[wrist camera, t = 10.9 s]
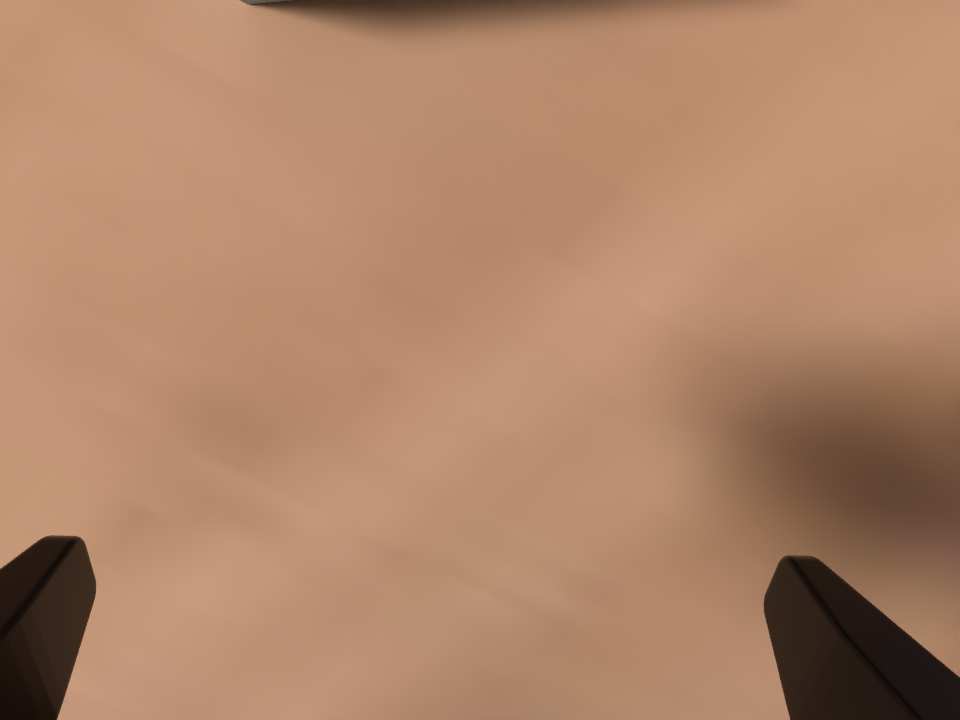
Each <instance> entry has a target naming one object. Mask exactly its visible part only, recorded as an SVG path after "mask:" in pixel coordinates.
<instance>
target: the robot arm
mask: <svg viewBox="0 0 960 720" xmlns="http://www.w3.org/2000/svg"><path fill="white" fill-rule="evenodd" d="M95 594H96V580H95V576H94V572H93V569H92V565H91V562H90V558H89V555H88V551H87V548H86V545H85V543H84V541H83V540H82V539H81V538H80V537H77V536H54V535H53V536H46V537H44V538H42V539H40V540H39V541H37V542H36V543H34V544H33V545H32V546H30V547H29V548H28V549H26V550H25V551H24V552H22V553H21V554H20V555H18V556H17V557H16V558H14V559H13V560H12V561H10V562H9V563H8V564H6V565H5V566H4V567H2V568H1V569H0V720H57V718H58V715H59V712H60V709H61V706H62V703H63V700H64V697H65V694H66V691H67V687H68V684H69V681H70V678H71V674H72V671H73V668H74V665H75V661H76V658H77V655H78V652H79V648H80V645H81V642H82V639H83V635H84V632H85V629H86V626H87V622H88V619H89V616H90V613H91V609H92V606H93V603H94V599H95ZM764 613H765V618H766V622H767V626H768V630H769V634H770V639H771V643H772V647H773V651H774V655H775V659H776V663H777V667H778V672H779V676H780V680H781V684H782V688H783V692H784V696H785V701H786V705H787V709H788V712H789V716H790V720H960V677H958V676H957V675H956V674H955V673H954V672H952V671H951V670H950V669H949V668H948V667H947V666H945V665H944V664H943V663H942V662H941V661H939V660H938V659H937V658H936V657H935V656H933V655H932V654H931V653H930V652H929V651H927V650H926V649H925V648H924V647H923V646H922V645H920V644H919V643H918V642H917V641H916V640H914V639H913V638H912V637H911V636H910V635H908V634H907V633H906V632H905V631H904V630H902V629H901V628H900V627H899V626H898V625H897V624H895V623H894V622H893V621H892V620H891V619H889V618H888V617H887V616H886V615H885V614H883V613H882V612H881V611H880V610H879V609H877V608H876V607H875V606H874V605H873V604H872V603H870V602H869V601H868V600H867V599H866V598H864V597H863V596H862V595H861V594H860V593H858V592H857V591H856V590H855V589H854V588H852V587H851V586H850V585H849V584H848V583H847V582H845V581H844V580H843V579H842V578H841V577H839V576H838V575H837V574H836V573H835V572H833V571H832V570H831V569H830V568H829V567H827V566H826V565H825V564H824V563H823V562H821V561H820V560H819V559H817V558H815V557H812V556H791V555H788V556H785V557H783V558H782V559H781V560H780V562H779V564H778V566H777V568H776V571H775V573H774V575H773V578H772V580H771V582H770V585H769V587H768V589H767V592H766V594H765V598H764Z"/></svg>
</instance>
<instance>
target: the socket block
mask: <svg viewBox="0 0 960 720" xmlns="http://www.w3.org/2000/svg"><path fill="white" fill-rule="evenodd" d="M240 1H242V2H244V3H246V4H258V3H269V2H280V1H292V0H240Z"/></svg>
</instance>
